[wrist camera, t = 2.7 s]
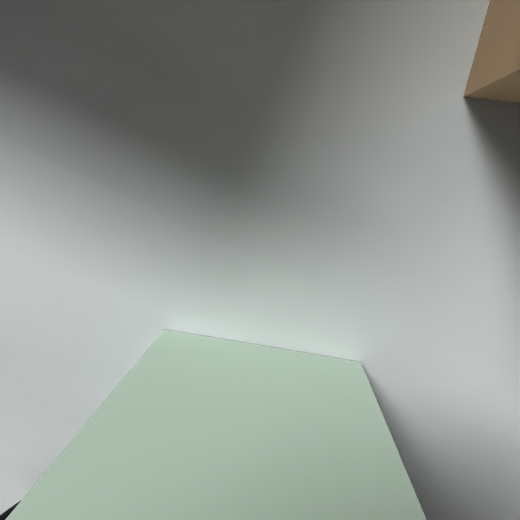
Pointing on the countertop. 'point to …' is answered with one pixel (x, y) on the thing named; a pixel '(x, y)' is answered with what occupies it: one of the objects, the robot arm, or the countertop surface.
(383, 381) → the countertop surface
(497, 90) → the walnut base block
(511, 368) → the countertop surface
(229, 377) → the sage cube
